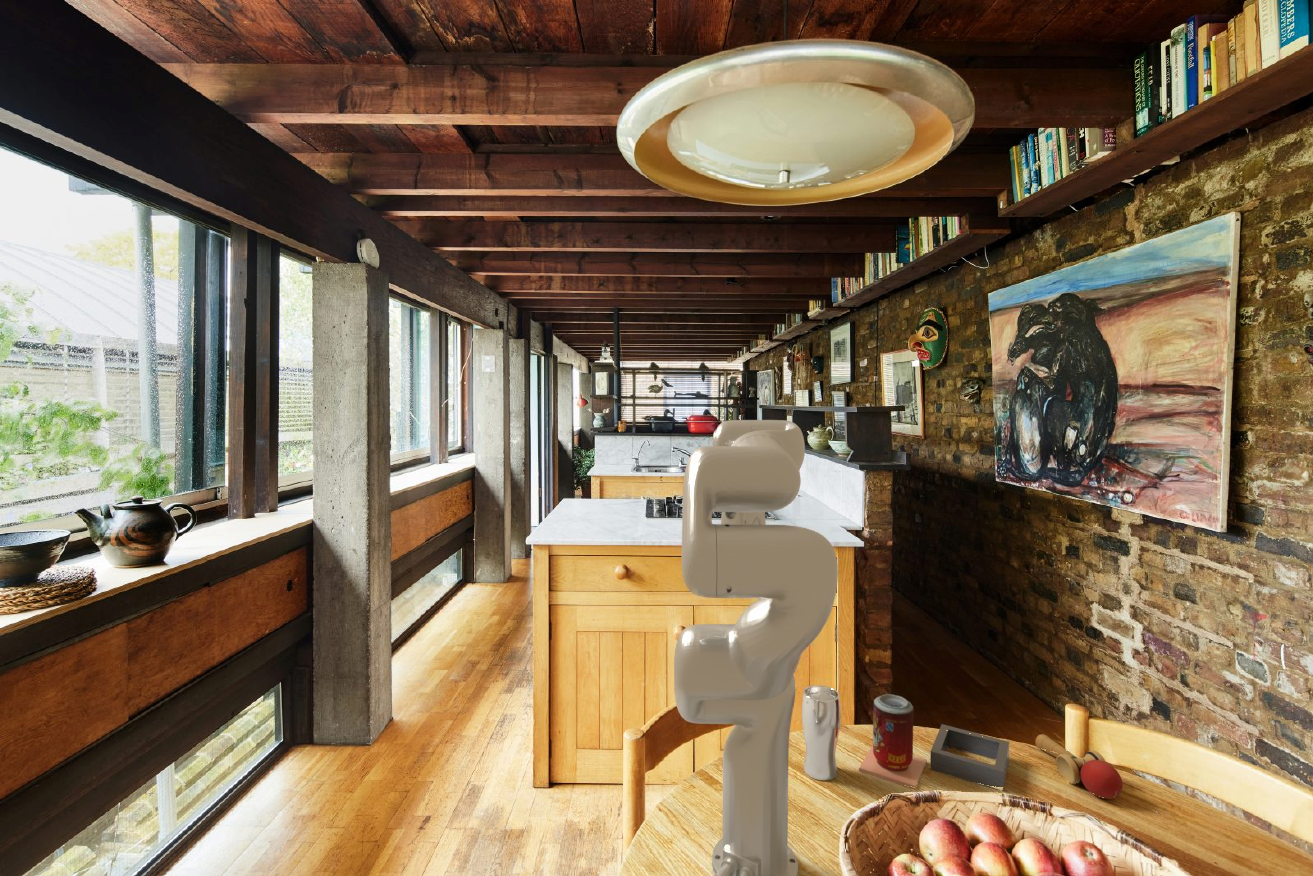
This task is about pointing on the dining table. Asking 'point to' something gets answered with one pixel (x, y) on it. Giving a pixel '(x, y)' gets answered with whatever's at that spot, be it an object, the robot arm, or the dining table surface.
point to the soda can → (893, 732)
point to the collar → (967, 766)
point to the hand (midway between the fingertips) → (742, 581)
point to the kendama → (1084, 769)
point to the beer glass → (820, 730)
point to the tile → (904, 778)
